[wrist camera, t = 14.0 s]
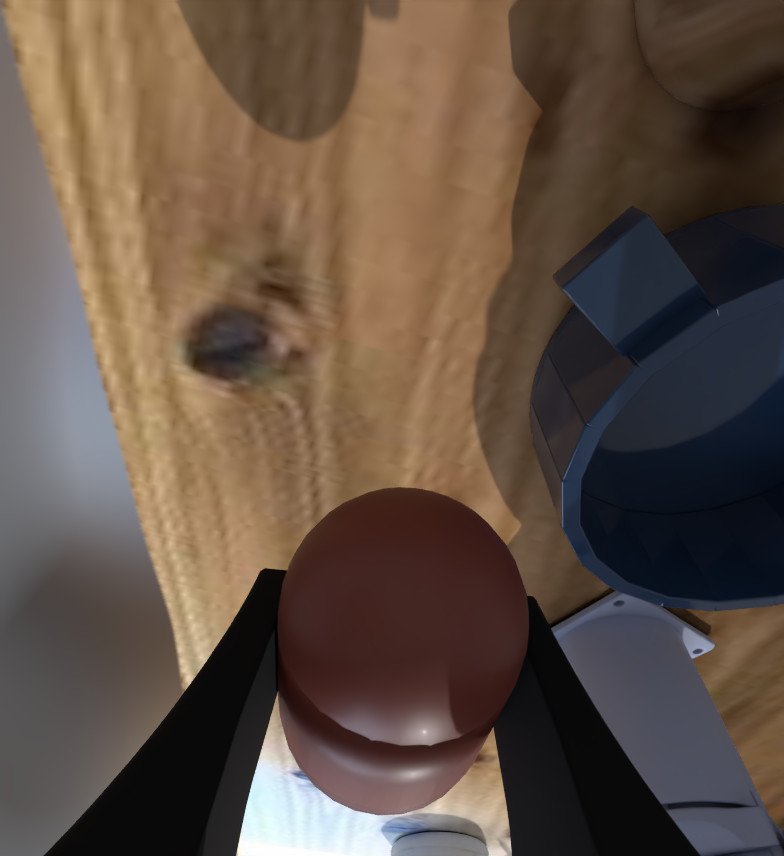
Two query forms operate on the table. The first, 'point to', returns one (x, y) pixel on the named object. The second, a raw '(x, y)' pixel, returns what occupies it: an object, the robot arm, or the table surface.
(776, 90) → the beer glass
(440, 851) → the coaster
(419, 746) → the red ribbed oval
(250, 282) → the table surface
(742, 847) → the robot arm
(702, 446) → the pan
